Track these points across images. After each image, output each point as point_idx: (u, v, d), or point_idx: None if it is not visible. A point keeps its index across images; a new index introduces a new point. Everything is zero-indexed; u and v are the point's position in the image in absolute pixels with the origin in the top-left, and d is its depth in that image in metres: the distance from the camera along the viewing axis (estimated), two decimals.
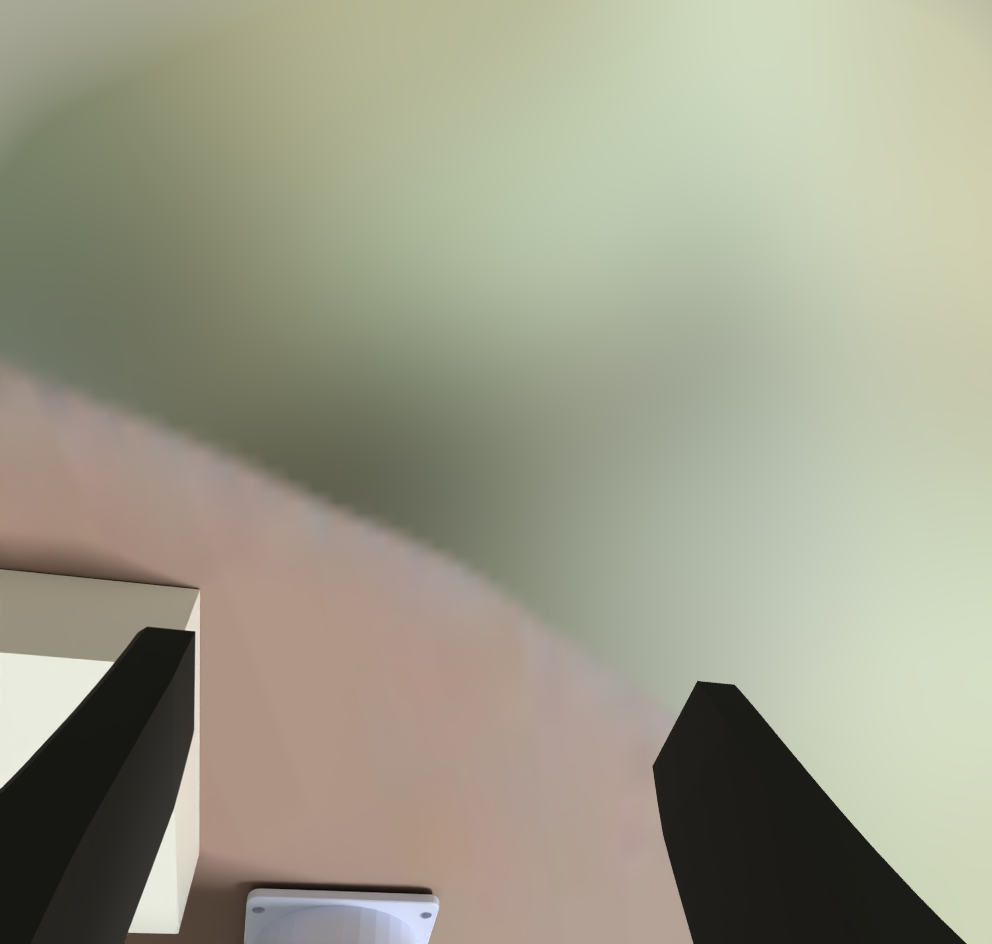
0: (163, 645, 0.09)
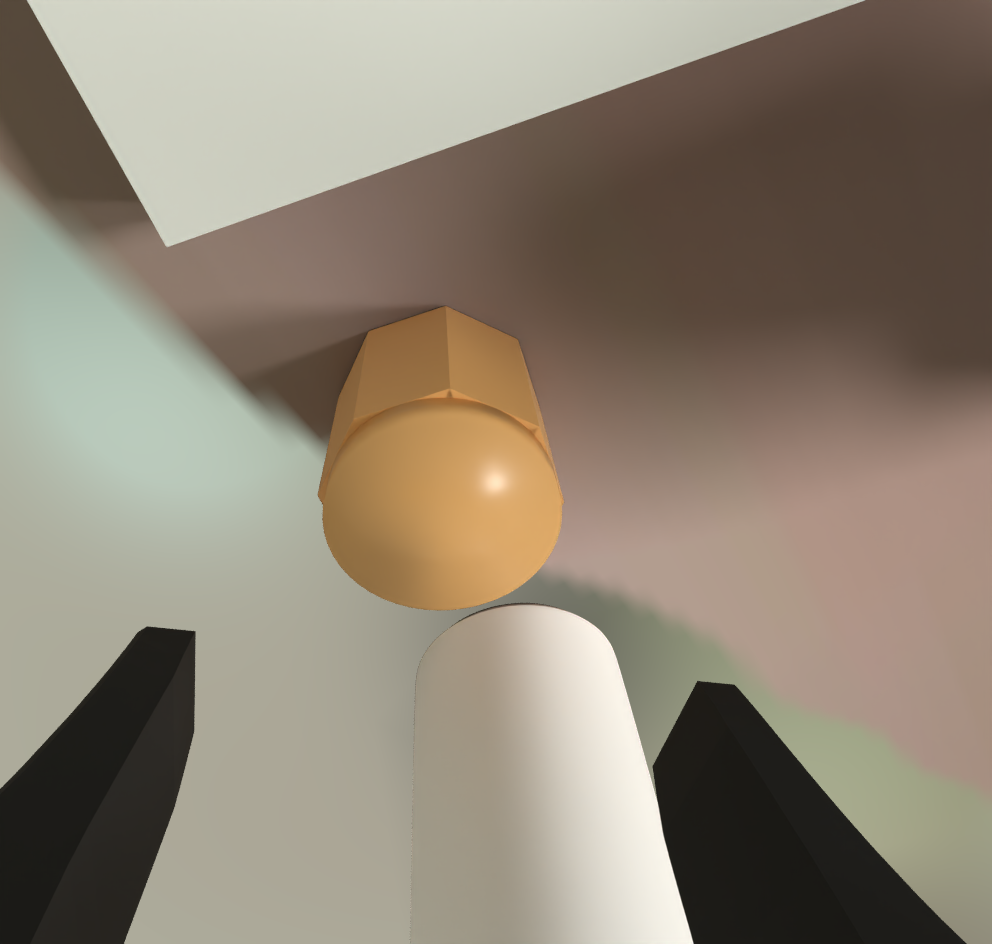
0: (163, 645, 0.09)
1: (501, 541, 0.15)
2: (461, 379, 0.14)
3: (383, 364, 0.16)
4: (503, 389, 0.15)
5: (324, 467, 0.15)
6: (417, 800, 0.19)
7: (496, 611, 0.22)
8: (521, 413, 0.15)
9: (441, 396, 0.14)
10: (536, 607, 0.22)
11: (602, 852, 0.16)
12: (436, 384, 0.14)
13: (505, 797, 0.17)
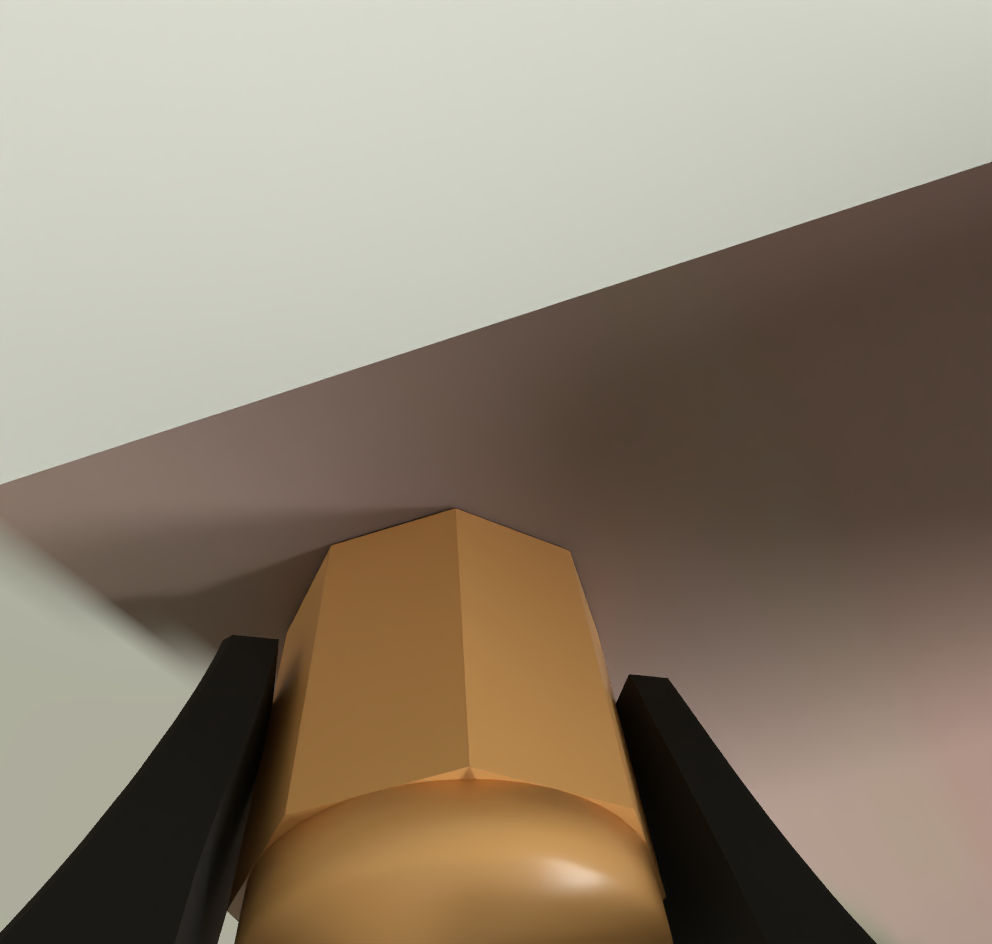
0: (251, 652, 0.09)
1: None
2: (489, 721, 0.08)
3: (349, 647, 0.09)
4: (562, 714, 0.08)
5: (245, 832, 0.09)
6: None
7: None
8: (599, 778, 0.08)
9: (452, 780, 0.07)
10: None
11: None
12: (442, 743, 0.07)
13: None
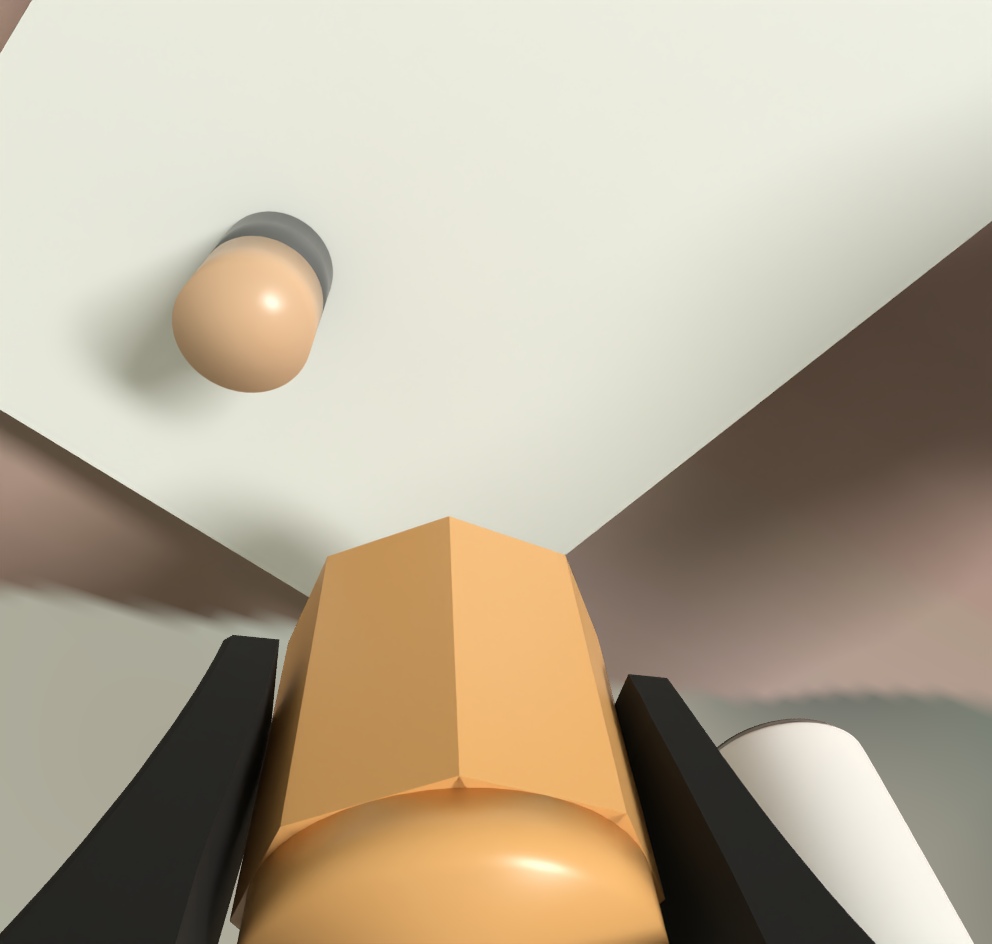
0: (252, 653, 0.09)
1: None
2: (480, 730, 0.08)
3: (344, 658, 0.09)
4: (554, 720, 0.08)
5: (247, 843, 0.09)
6: None
7: (738, 743, 0.26)
8: (591, 783, 0.08)
9: (443, 789, 0.07)
10: (769, 729, 0.26)
11: None
12: (433, 753, 0.08)
13: None
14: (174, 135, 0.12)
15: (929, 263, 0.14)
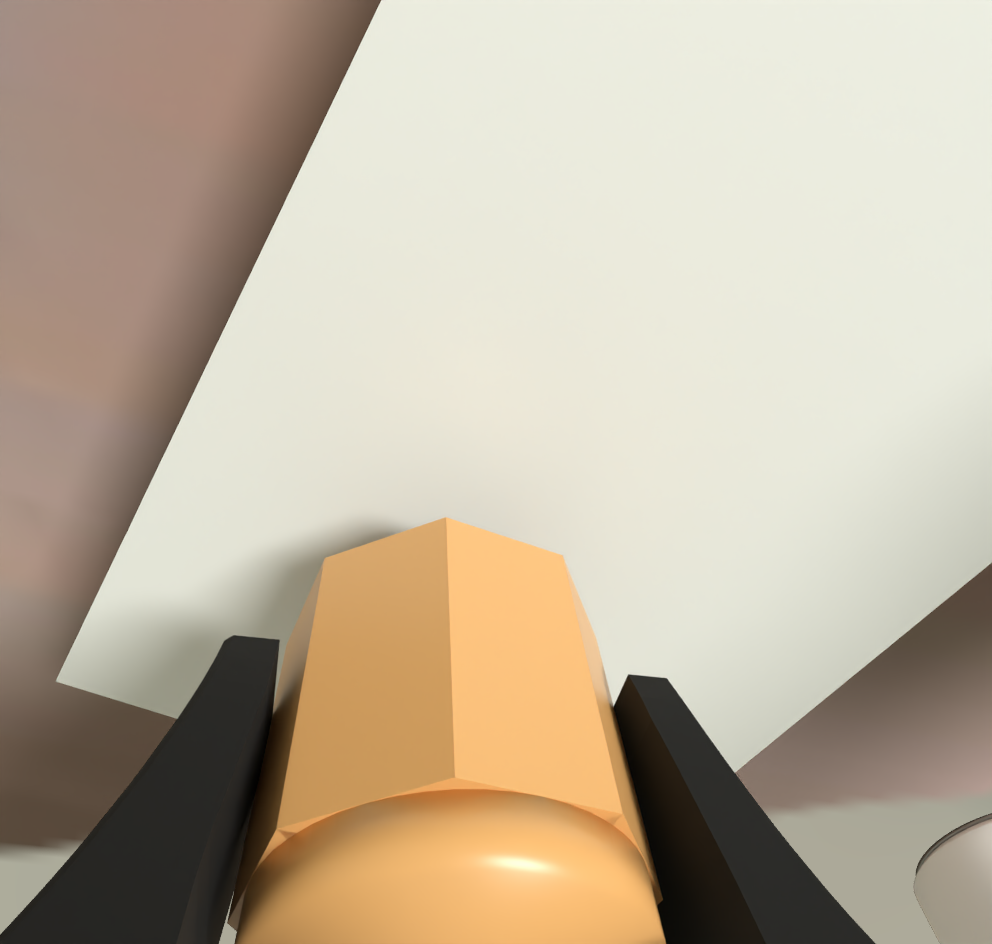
0: (252, 653, 0.09)
1: None
2: (476, 731, 0.08)
3: (341, 659, 0.09)
4: (551, 721, 0.08)
5: (245, 844, 0.09)
6: None
7: (958, 842, 0.25)
8: (588, 784, 0.08)
9: (439, 791, 0.07)
10: None
11: None
12: (429, 754, 0.08)
13: None
14: (333, 483, 0.12)
15: None
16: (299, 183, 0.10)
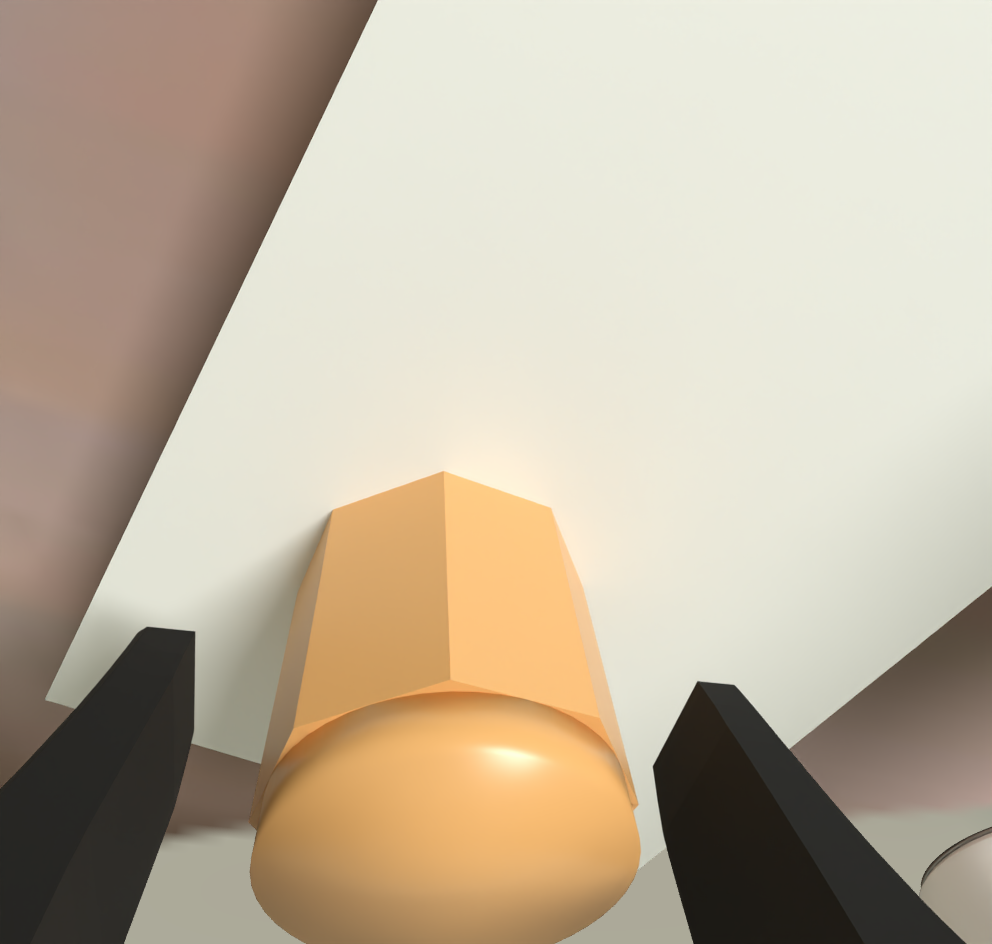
0: (163, 645, 0.09)
1: (543, 889, 0.09)
2: (469, 645, 0.09)
3: (348, 592, 0.10)
4: (537, 641, 0.09)
5: (263, 758, 0.10)
6: None
7: (964, 854, 0.24)
8: (569, 693, 0.09)
9: (436, 692, 0.08)
10: None
11: None
12: (428, 663, 0.09)
13: None
14: (328, 498, 0.12)
15: None
16: (292, 191, 0.09)
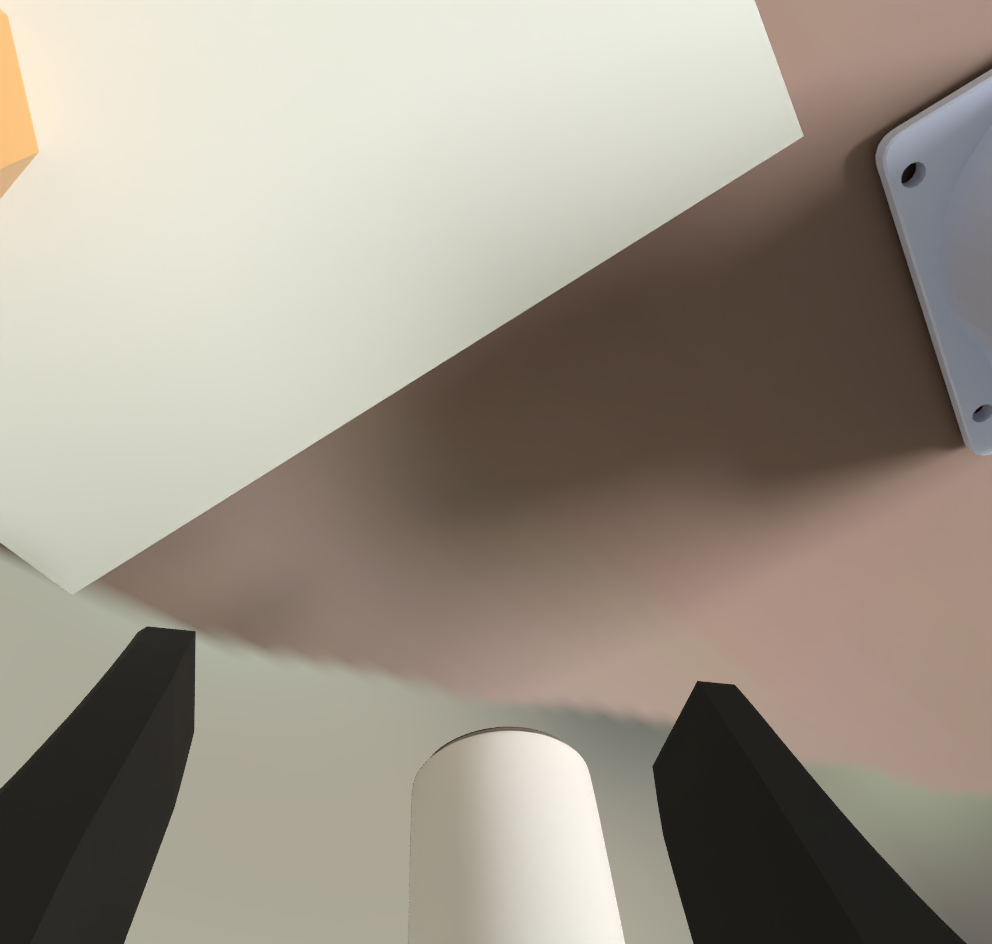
0: (163, 645, 0.09)
1: None
2: None
3: None
4: None
5: None
6: (408, 930, 0.23)
7: (459, 744, 0.25)
8: None
9: None
10: (492, 734, 0.25)
11: None
12: None
13: (457, 933, 0.20)
14: None
15: (630, 237, 0.14)
16: None
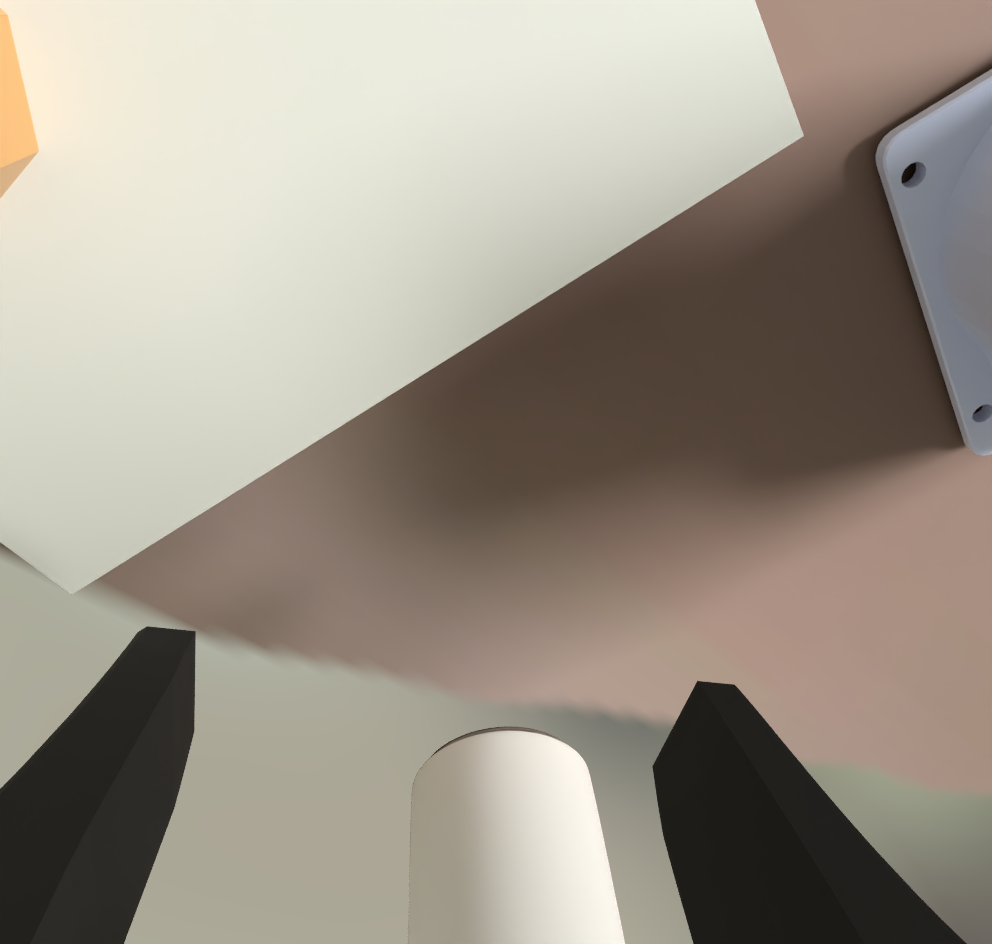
0: (163, 645, 0.09)
1: None
2: None
3: None
4: None
5: None
6: (408, 930, 0.23)
7: (458, 744, 0.25)
8: None
9: None
10: (492, 734, 0.25)
11: None
12: None
13: (457, 933, 0.20)
14: None
15: (630, 237, 0.14)
16: None
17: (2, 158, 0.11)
